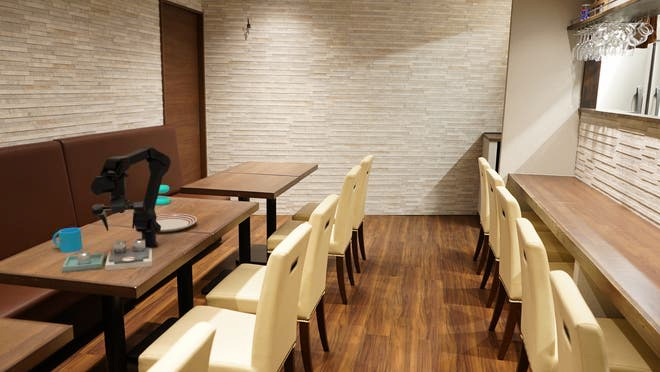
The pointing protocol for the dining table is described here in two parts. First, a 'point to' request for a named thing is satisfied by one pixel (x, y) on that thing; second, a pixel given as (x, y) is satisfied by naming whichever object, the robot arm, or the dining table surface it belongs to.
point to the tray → (72, 265)
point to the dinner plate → (174, 221)
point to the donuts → (162, 199)
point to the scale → (129, 259)
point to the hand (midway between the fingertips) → (120, 229)
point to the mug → (69, 240)
